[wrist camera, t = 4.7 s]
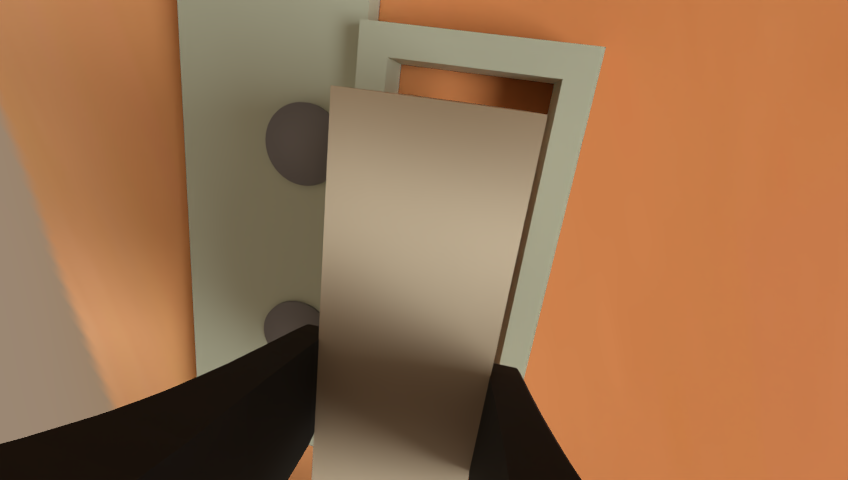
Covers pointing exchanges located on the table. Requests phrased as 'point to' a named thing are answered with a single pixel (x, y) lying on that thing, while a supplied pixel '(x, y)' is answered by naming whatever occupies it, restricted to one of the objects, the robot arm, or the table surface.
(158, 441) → the robot arm
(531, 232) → the sage cabinet frame
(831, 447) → the table surface
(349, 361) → the birch door
